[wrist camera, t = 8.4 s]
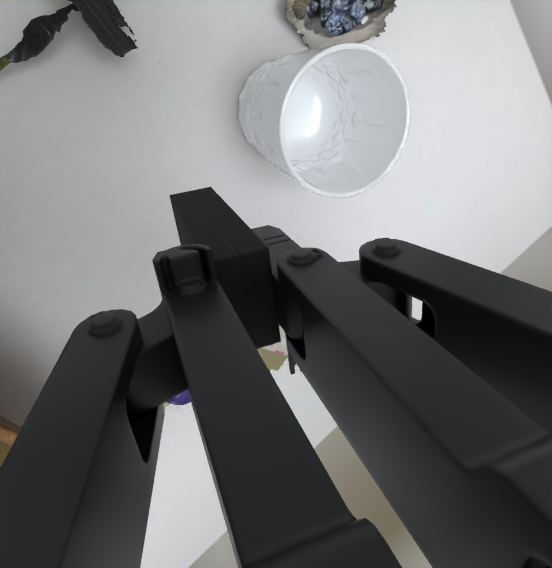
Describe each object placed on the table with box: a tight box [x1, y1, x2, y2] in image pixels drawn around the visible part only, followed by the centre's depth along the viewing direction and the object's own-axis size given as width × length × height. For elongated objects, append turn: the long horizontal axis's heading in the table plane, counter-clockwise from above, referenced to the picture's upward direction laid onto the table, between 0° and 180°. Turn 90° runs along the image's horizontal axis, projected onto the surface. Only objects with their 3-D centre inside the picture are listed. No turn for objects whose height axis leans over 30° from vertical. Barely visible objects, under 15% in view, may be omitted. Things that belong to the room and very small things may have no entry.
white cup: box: [238, 43, 410, 198], centre depth 29 cm, size 8×8×10 cm
